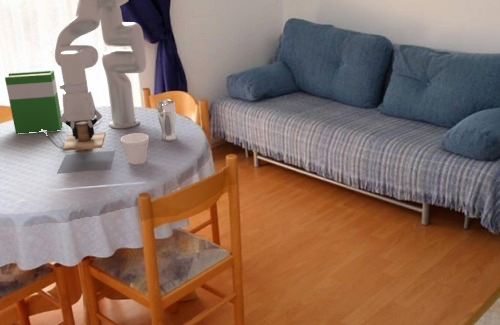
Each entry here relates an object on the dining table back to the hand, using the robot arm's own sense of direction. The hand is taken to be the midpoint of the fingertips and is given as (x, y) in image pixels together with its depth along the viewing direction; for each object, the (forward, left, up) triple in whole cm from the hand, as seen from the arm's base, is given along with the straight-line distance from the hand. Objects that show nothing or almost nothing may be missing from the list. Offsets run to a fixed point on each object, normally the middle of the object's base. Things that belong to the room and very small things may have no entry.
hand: (84, 137), depth 203 cm
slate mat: (+1, 0, -10) cm, 10 cm away
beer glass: (-18, +29, -10) cm, 36 cm away
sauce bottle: (-13, -3, -10) cm, 17 cm away
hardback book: (-41, -25, -10) cm, 49 cm away
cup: (+4, +18, -10) cm, 21 cm away
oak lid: (0, 0, -2) cm, 2 cm away
